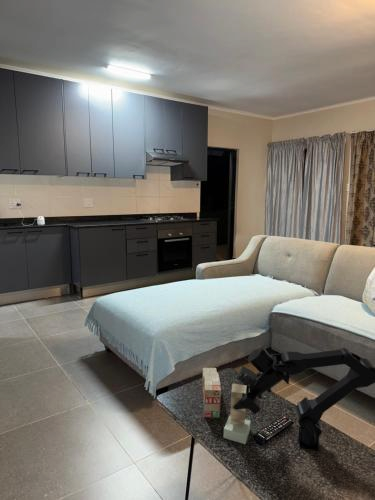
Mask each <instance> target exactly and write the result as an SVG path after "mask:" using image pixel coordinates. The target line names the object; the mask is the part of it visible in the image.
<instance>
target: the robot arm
mask: <svg viewBox="0 0 375 500" xmlns="http://www.w3.org/2000/svg"><path fill="white" fill-rule="evenodd" d="M247 360H248V362H249V363H250V364H252V366H253V367H255V369H256V370H257V372H256V373H255V372H254V371H253V370H251V369H250V368H247V367H245V366H241V367H240V368H239V371H238V372H237V376H236V377H237V380H238V381H239V382H241V383H242V385H247V388H246V394H244V393H243V394H242V398H241V399H240V400H239V401H238V402H237V403H236V404H235V405H234V407H233V408H234V409H235V410H236V409H246V410H249V411H250V412H251V413H252V414H253V415H255V416H256V415H257V414H259V413H260V412H261V411H260V410H261V401H260V400H261V399H263V395H264V394H266V393H267V392H268V393H271V392H272V388H274V387H276V385H278V384H279V383H281V382H283V381H284V383H286V385H290V377H291V376H295V375H299V374H303V373H304V372H306V371H307V370H309V369H315V368H323V367H324V368H325V367H333V366H342V365H346V366H347V367H349V370H348V371H347V374H346V375H345V376H344V377H343V378H341V379H340V380H338V381H337V382H335V383H334V384H333V385H332V386H330V387H329V388H327V389H326V390H325V391H323V392H322V393H320V394H319V395H318V396H317V397H315V398H313V399H309V398H307V396H305V397H304V398H302V400H301V401H298V402H297V405H296V406H295V410H294V412H295V415H296V418H297V422H298V425H299V426H298V427H297V441H298V446H299V447H300V448H304V449H308V450H311V451H313V450H314V451H317V452H319V450H320V447H319V443H320V442H319V441H320V437H321V434H322V433H323V430H322V427H321V425H320V420H321V419H322V417H323V415H324V413H325V412H326V411H328V410H330V408H331V407H333V406H335V405H337V404H338V402H340V401H342V400H343V399H344V398H345V397H347V396H348V395H350V394H351V393H353V392H354V391H355V390H357V389H359V388H367V387H368V388H369V386H372V385H374V384H375V365H374V364H373V363H372V361H371V360H370V359H368V358H363V357H361V356H359V355H358V354H356V353H354V352H352V351H350V350H349V349H348V348H346V347H345V348H344V347H343V348H339V349H335V350H334V349H333V350H325V351H317V352H309V353H302V352H298V351H283V352H282V353H271V354H270V353H269V352H268V351H267V350H266V348H265V347H264V346H263V347H261V348H256V349H254V350H252V351H251V353H249V355H248V357H247ZM257 398H259V399H257Z"/></svg>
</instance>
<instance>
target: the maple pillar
mask: <svg viewBox="0 0 375 500" xmlns="http://www.w3.org/2000/svg"><path fill="white" fill-rule="evenodd" d="M246 388H247V385H243V384H239V383H238V384H237V383H232V385H231V393H230V394H231V396H230V415H231V419H230V424H232V425H239V426H245V419H246V410H247V409H236V410H235V409H234V408H233V407H234V405H235V404H236V403H237V402H238V401H239V400H240V399H241V398H242V394H243V393H244V394H246Z"/></svg>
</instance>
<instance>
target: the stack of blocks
mask: <svg viewBox="0 0 375 500" xmlns="http://www.w3.org/2000/svg"><path fill="white" fill-rule="evenodd" d="M201 375H202V399H203V402H202V403H203V418H210V419H211V418H214V419H215V418H218V419H220V418H221V416H220V415H221V401H222V400H221V396H222V389H221V382H220V381H221V380H220V376H219V372H218V371H217V368H216V367H202V374H201Z"/></svg>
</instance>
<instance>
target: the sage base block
mask: <svg viewBox="0 0 375 500" xmlns="http://www.w3.org/2000/svg"><path fill="white" fill-rule="evenodd" d="M230 419H231V414H230V415H228V418H227V421H226V422H225V426H224V427H223V439H227V440H230V441H233V442H236V443H240V444H243V445H246V443H247V441H248V438H249V434H250V431H251V420H249V419H246V418H245V426H239V425H232V424H230Z"/></svg>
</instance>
